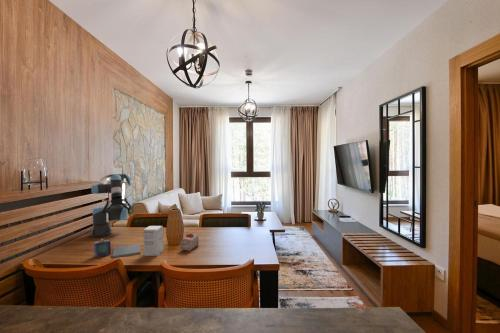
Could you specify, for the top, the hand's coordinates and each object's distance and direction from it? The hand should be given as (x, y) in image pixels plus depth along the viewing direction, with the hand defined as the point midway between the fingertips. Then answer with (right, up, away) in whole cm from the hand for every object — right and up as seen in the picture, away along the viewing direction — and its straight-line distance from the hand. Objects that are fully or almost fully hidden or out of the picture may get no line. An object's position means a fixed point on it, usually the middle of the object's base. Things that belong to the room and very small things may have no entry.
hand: (117, 220), depth 192 cm
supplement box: (+36, -17, -24) cm, 46 cm away
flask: (+4, -17, -26) cm, 32 cm away
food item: (+57, -16, -15) cm, 61 cm away
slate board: (+16, -17, -20) cm, 30 cm away
